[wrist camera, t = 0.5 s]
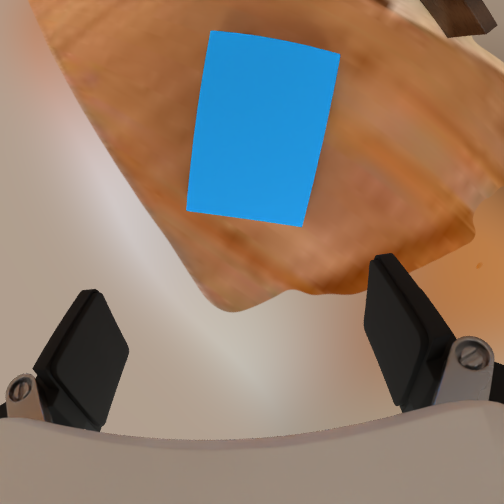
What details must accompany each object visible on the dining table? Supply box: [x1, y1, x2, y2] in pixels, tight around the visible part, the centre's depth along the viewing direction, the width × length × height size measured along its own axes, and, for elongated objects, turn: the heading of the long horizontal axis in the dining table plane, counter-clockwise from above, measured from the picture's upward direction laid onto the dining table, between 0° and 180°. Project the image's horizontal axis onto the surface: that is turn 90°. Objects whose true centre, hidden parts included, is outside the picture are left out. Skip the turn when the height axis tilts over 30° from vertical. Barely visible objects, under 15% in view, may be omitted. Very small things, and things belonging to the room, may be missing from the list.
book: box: [186, 31, 340, 227], centre depth 37 cm, size 17×4×25 cm
